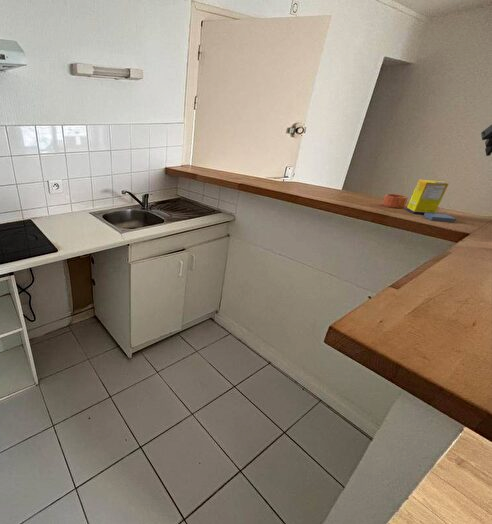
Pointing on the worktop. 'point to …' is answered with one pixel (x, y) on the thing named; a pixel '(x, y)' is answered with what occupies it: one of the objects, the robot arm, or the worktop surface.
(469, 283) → the worktop surface
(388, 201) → the ramekin
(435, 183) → the supplement box
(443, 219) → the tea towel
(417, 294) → the worktop surface
